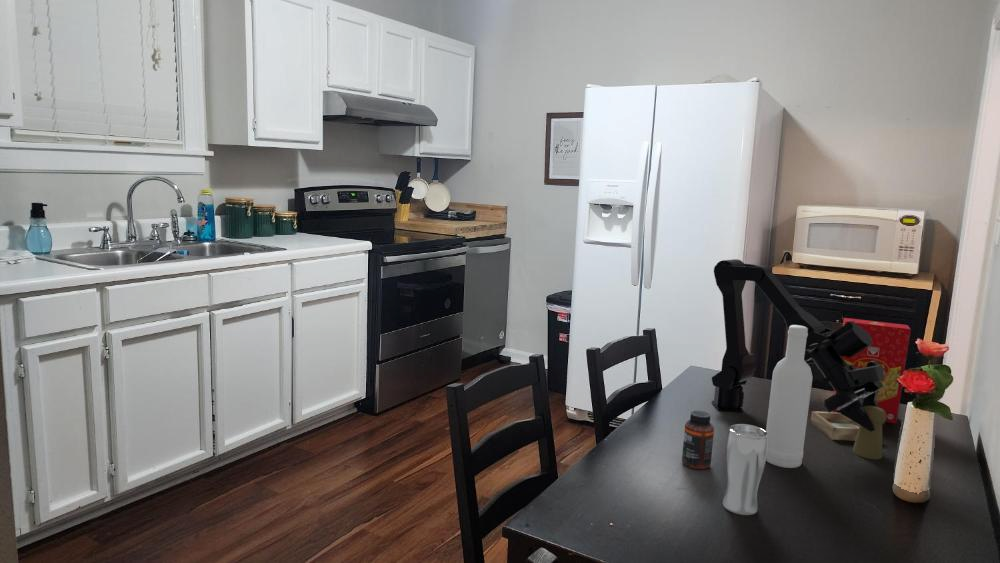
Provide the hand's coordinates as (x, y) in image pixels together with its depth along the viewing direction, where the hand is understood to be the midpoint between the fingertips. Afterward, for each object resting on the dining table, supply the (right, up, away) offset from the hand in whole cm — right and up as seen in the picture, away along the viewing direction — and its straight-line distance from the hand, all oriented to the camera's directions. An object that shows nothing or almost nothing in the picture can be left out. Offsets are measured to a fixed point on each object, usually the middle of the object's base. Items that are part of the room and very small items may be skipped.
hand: (877, 428), depth 151 cm
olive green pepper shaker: (-1, -6, +2) cm, 7 cm away
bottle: (-23, -6, -4) cm, 24 cm away
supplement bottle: (-43, -6, -8) cm, 44 cm away
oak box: (0, -4, +15) cm, 15 cm away
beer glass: (-40, -9, -26) cm, 49 cm away
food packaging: (+12, -3, +28) cm, 30 cm away
